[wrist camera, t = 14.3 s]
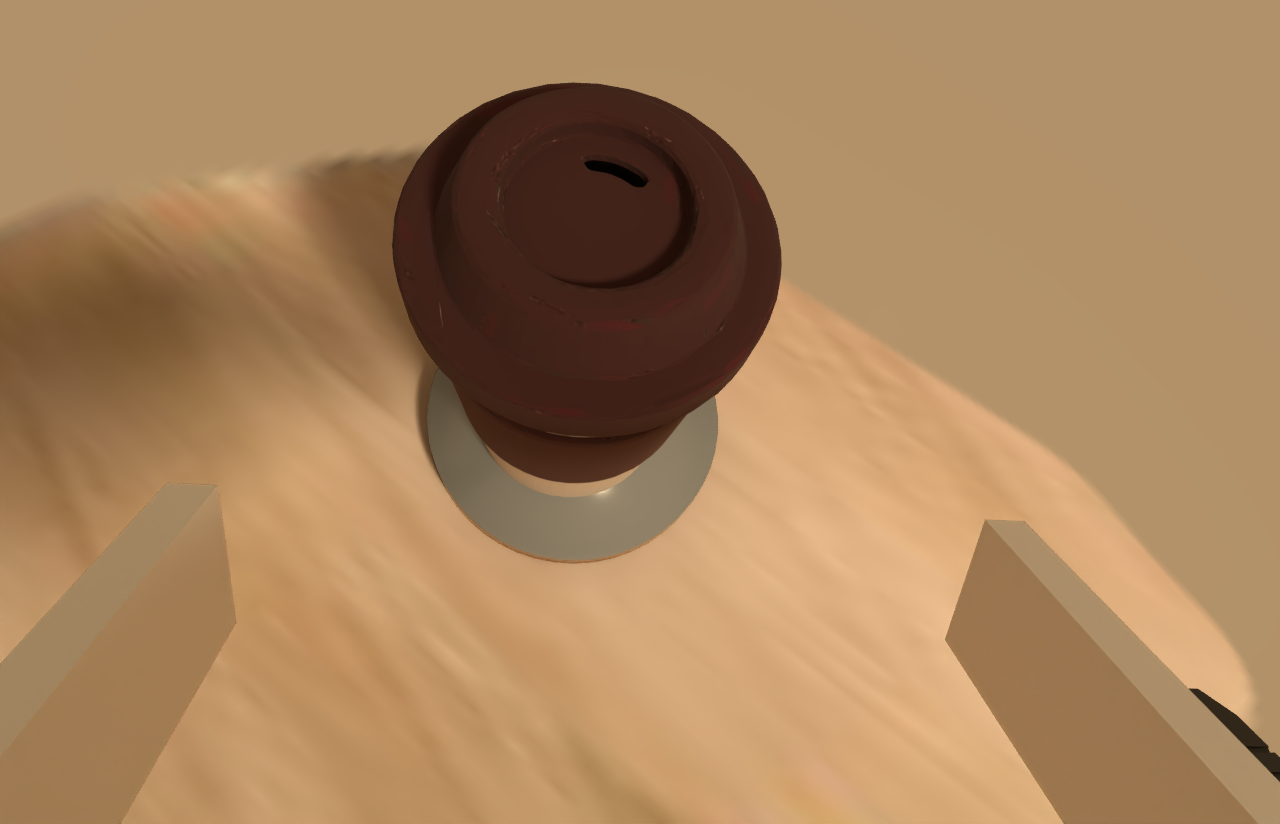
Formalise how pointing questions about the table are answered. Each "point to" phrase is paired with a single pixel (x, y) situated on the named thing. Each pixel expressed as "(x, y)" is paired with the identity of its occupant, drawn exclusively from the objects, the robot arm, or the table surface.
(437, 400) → the slate coaster
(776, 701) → the table surface
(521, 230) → the coffee cup
